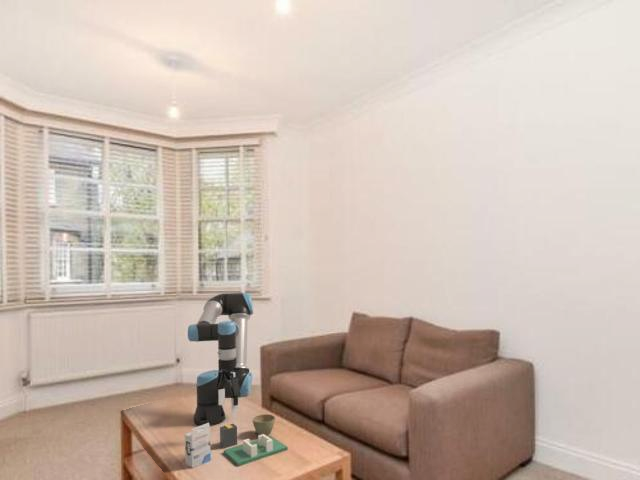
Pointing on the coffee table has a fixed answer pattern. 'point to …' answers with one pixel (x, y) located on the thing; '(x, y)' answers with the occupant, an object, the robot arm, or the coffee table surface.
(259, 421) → the flower pot
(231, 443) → the plug
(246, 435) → the coffee table surface
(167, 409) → the coffee table surface
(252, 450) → the board
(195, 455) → the ink box
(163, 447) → the coffee table surface
